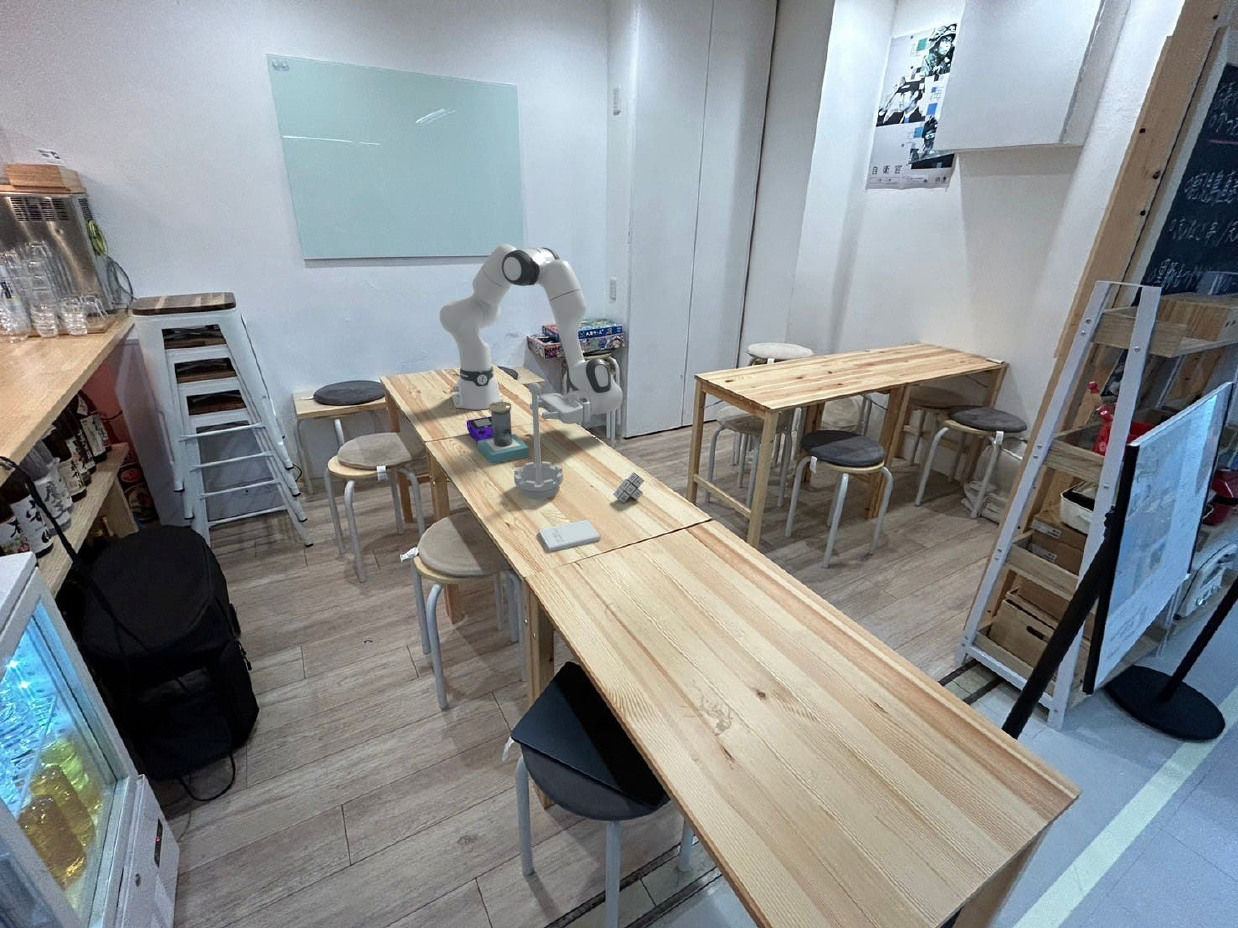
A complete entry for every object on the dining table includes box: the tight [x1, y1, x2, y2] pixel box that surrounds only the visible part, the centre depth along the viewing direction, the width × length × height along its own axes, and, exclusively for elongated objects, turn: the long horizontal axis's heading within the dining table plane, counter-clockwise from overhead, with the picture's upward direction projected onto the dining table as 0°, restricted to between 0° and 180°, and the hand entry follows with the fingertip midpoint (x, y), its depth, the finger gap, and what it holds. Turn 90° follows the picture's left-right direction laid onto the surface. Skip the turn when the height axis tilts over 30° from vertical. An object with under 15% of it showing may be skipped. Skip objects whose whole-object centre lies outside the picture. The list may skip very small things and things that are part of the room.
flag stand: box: [513, 381, 564, 500], centre depth 142 cm, size 13×13×30 cm
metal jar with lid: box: [488, 401, 513, 447], centre depth 165 cm, size 6×6×12 cm
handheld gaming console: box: [466, 415, 493, 445], centre depth 179 cm, size 9×5×15 cm
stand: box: [477, 433, 530, 465], centre depth 168 cm, size 12×12×3 cm
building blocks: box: [612, 471, 645, 504], centre depth 144 cm, size 5×5×8 cm
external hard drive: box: [538, 519, 601, 553], centre depth 128 cm, size 2×8×12 cm
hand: (536, 411), depth 169 cm, fingers open, 8 cm apart
